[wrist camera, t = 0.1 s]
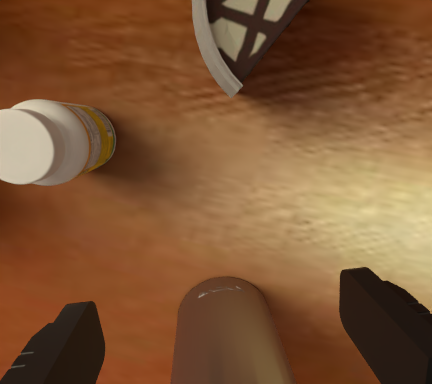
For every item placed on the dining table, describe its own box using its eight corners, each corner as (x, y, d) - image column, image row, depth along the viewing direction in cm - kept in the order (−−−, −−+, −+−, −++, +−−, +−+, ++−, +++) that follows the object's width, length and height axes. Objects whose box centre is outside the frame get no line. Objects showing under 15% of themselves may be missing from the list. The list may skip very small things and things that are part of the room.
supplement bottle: (123, 115, 24) (77, 112, 15) (110, 176, 26) (60, 207, 16) (57, 96, 24) (-34, 81, 14) (47, 160, 25) (-43, 183, 16)
